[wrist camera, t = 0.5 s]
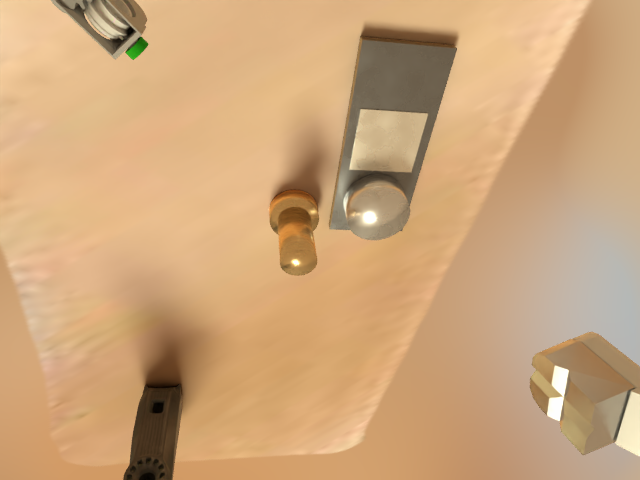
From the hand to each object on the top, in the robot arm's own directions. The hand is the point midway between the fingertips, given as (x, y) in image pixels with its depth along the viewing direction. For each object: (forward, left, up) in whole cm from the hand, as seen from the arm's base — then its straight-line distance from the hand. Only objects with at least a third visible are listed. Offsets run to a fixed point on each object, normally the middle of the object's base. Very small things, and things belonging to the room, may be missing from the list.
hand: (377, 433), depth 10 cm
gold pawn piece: (+23, +2, -39) cm, 45 cm away
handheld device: (+64, -15, -39) cm, 76 cm away
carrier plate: (+14, +11, -39) cm, 43 cm away
